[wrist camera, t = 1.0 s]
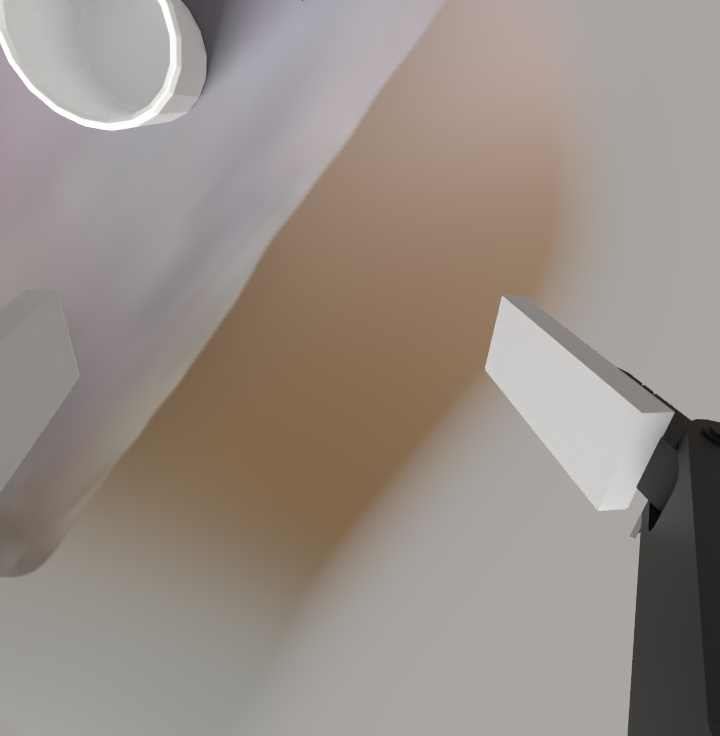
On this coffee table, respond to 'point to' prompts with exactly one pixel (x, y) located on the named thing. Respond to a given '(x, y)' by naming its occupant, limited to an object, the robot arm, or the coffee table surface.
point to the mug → (107, 58)
